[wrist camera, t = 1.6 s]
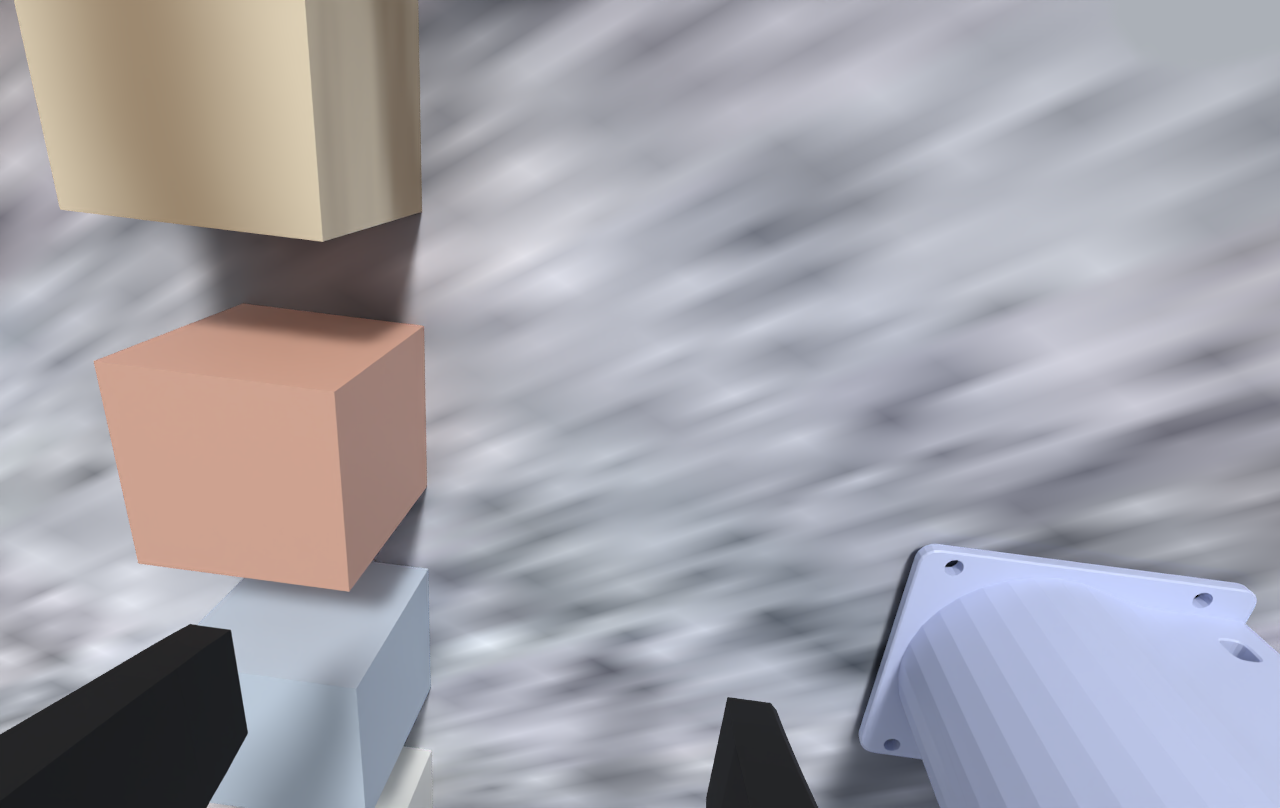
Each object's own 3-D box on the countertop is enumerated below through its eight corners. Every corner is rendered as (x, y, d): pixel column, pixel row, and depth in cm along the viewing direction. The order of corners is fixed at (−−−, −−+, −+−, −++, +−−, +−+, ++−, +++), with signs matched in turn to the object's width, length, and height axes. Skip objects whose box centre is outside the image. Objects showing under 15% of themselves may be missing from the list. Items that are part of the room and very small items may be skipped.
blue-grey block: (429, 567, 21) (356, 688, 17) (431, 686, 23) (366, 824, 18) (275, 547, 21) (160, 661, 17) (290, 666, 23) (190, 799, 19)
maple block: (419, -17, 15) (299, -83, 10) (422, 211, 17) (323, 241, 12) (202, -42, 15) (-13, -118, 10) (231, 188, 17) (60, 209, 12)
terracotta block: (425, 325, 18) (334, 391, 13) (427, 485, 20) (349, 591, 15) (245, 302, 18) (93, 361, 14) (264, 463, 20) (138, 563, 16)
